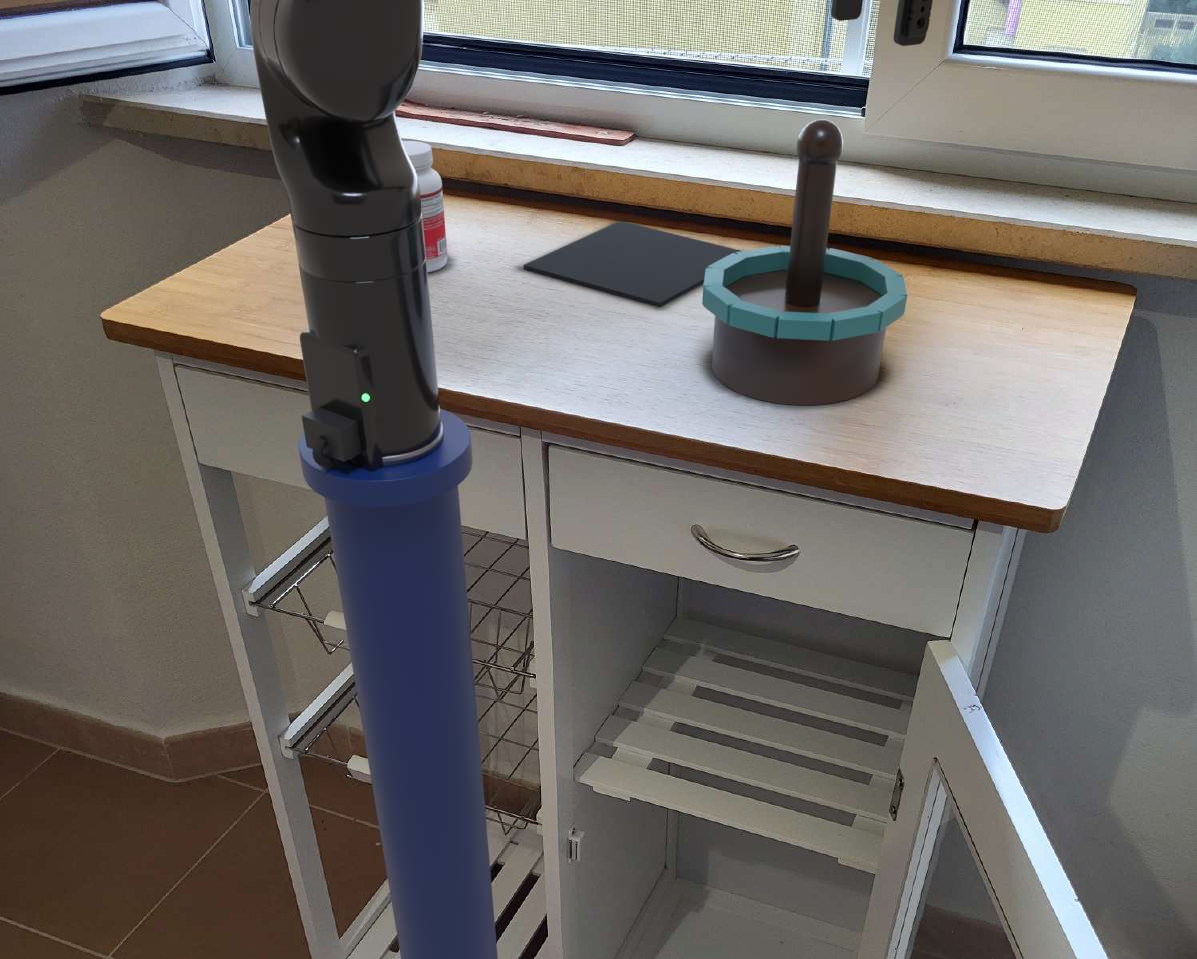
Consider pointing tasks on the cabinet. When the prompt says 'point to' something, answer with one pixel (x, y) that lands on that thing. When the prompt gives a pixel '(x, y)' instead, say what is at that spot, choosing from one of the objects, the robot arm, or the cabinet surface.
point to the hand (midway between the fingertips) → (876, 31)
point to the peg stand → (802, 302)
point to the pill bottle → (430, 204)
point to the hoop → (799, 322)
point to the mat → (633, 262)
